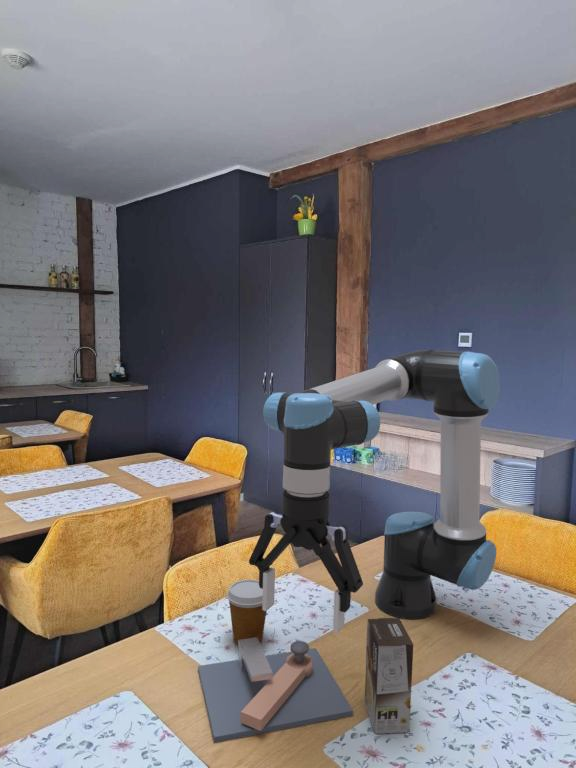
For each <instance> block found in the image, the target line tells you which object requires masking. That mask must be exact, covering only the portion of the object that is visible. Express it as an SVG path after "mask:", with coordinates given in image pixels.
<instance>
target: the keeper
mask: <svg viewBox="0 0 576 768" xmlns="http://www.w3.org/2000/svg"><path fill="white" fill-rule="evenodd" d="M237 647H238V658H237V660H238V663H239V666H240V669H241V672H242V671H248V674H249V677H250V680H251V682H255V681H261V680H267V679H273V672H272V670H271V668H270V665H269V663H268V661H267V658H266V654H265V652H264V649H263V647H262V643H261V644H260V642H259V640H258V637H255V638H248V639H241V640H238V646H237Z"/></svg>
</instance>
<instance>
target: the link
mask: <svg viewBox="0 0 576 768" xmlns="http://www.w3.org/2000/svg"><path fill="white" fill-rule="evenodd" d="M309 649H310V647H309V644H308V643H307V642H305V641H303V640H302V641H301V640H297V641H294V642H292V643H291V644H290V652H293V653H294V654H291V655H289V656H288V657H287V659H286V663H285V664H284V665H283V666H282V667H281V668H280V670H279V671H278V672H277V673H276V674H275V675H274V676H273V679H270V680H269V682H268V683H267V684H266V685H265V686H264V687H263V688H262V689H261V690H260V691H259V693H258V694H257V695H256V696H255V697H254V698H253V699H252V700H251V701H250V702H249V703H248V705H247V706H246V707H245V708H244V709H243V710H242V711H241V723H243V724H245V725H248V726H250V727H252V728H255V729H257V730H259V731H261V730H262V729H263V728H264V727H265V725H266V724H267V723H268V722H269V720H270V719H271V718H272V717H273V716H274V714H275V713H276V712H277V711H278V709H279V708H280V707H281V706H282V705H283V703H284V702H285V701H286V700H287V698H288V697H289V696H290V695H291V694H292V692H293V691H294V690H295V689H296V688H297V686H298V685H299V684H300V683H301V681H302V680H303V679H304V678H306V677H308V676H310V675H311V673H312V668H313V658H311V657H310V656H309V655H307V654H306V653H307V652H308V651H309Z"/></svg>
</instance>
